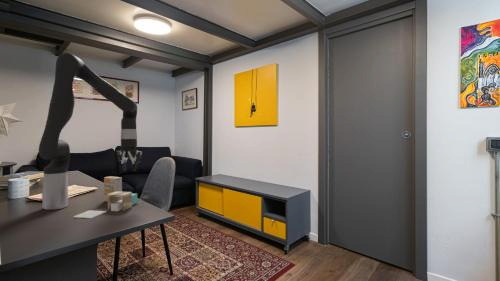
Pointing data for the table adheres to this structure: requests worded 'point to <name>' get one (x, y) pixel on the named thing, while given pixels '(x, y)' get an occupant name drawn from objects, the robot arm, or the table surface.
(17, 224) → the table surface
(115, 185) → the supplement box
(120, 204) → the light grey rectangular block
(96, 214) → the mat
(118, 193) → the tunnel
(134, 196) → the block
